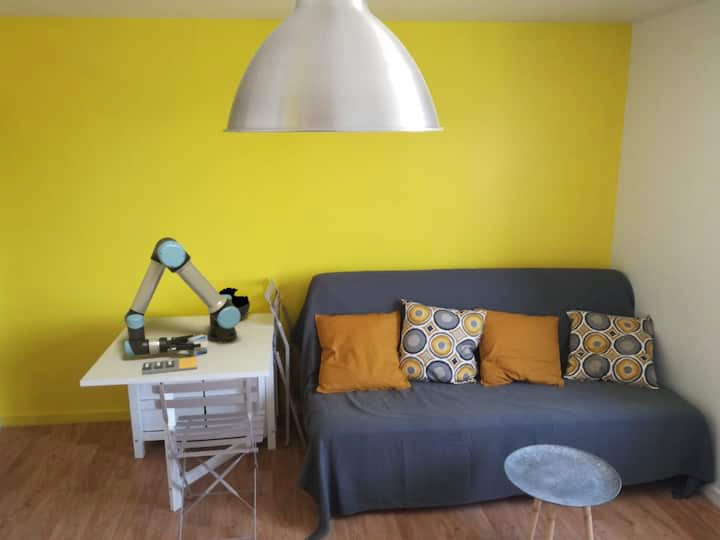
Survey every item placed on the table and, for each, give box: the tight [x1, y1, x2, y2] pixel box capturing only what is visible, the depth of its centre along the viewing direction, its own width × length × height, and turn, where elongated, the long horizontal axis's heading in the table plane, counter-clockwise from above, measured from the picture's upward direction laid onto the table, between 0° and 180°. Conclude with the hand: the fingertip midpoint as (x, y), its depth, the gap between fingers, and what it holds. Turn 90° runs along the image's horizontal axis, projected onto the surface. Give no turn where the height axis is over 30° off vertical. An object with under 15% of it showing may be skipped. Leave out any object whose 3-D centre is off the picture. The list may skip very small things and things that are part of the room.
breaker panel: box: [141, 356, 198, 376], centre depth 285 cm, size 24×13×3 cm, turn 106°
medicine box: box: [188, 333, 208, 357], centre depth 301 cm, size 8×4×9 cm, turn 146°
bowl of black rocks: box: [218, 286, 251, 320], centre depth 350 cm, size 20×20×19 cm
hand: (207, 340), depth 302 cm, fingers closed on medicine box, 8 cm apart
